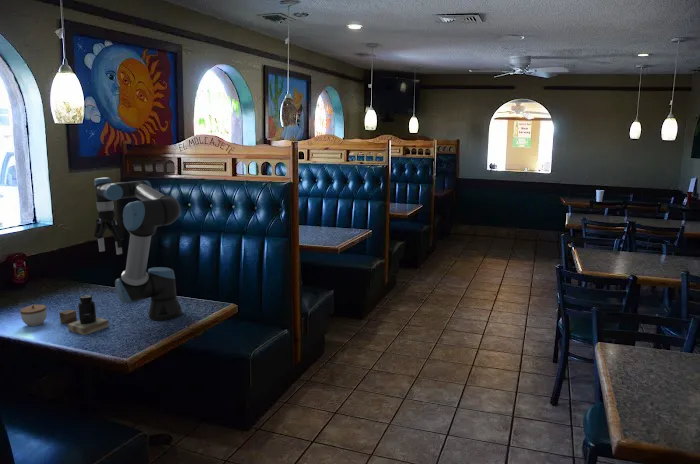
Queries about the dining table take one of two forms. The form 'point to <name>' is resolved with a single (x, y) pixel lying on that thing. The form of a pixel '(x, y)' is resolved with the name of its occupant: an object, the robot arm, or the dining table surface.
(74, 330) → the plinth
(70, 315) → the walnut cube
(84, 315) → the supplement bottle
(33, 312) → the lidded jar
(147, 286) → the robot arm
